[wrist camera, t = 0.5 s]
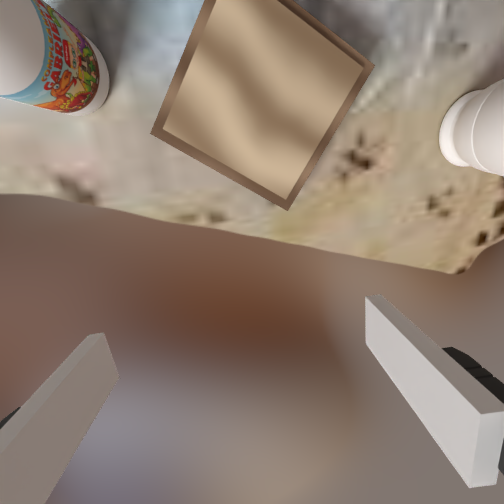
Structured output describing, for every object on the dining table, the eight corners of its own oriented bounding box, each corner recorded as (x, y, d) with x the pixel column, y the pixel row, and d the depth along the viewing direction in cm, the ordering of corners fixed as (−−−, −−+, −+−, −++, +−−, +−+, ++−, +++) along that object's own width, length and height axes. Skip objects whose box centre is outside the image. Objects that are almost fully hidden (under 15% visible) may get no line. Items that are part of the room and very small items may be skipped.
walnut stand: (226, -20, 26) (226, -59, 21) (354, 77, 30) (378, 63, 25) (161, 136, 30) (148, 133, 25) (280, 204, 34) (288, 212, 29)
